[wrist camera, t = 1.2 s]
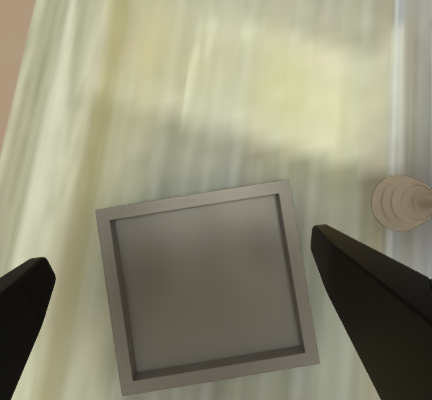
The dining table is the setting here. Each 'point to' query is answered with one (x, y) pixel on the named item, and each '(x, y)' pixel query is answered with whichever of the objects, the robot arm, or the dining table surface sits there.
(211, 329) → the tray
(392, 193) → the chalice
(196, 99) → the dining table surface
